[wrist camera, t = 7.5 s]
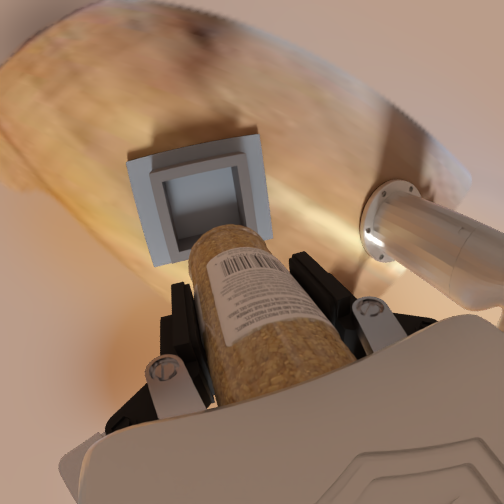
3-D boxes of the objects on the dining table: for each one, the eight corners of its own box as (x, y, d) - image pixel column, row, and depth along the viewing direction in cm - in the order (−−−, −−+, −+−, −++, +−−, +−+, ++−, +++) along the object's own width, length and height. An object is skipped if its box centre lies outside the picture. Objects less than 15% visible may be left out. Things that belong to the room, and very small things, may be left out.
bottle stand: (256, 134, 28) (269, 133, 24) (270, 235, 34) (283, 249, 30) (127, 161, 26) (119, 165, 22) (154, 263, 31) (152, 282, 27)
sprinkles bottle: (178, 286, 15) (222, 551, 3) (203, 210, 14) (332, 503, 2) (251, 302, 17) (358, 514, 5) (281, 235, 16) (467, 433, 4)
